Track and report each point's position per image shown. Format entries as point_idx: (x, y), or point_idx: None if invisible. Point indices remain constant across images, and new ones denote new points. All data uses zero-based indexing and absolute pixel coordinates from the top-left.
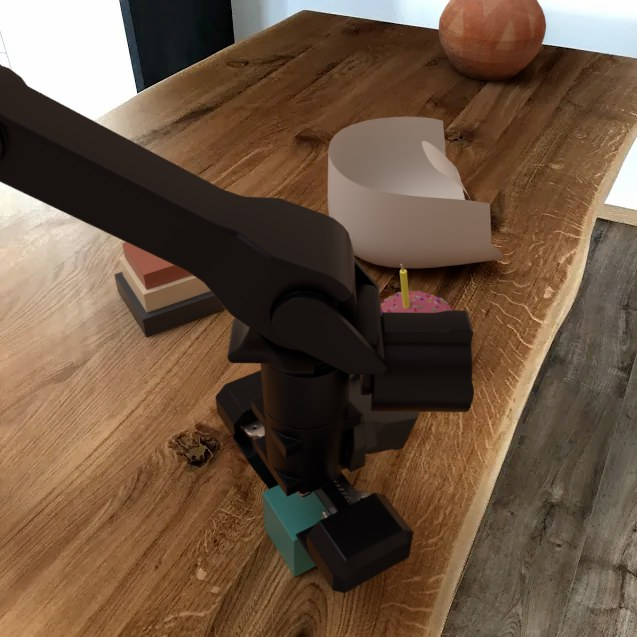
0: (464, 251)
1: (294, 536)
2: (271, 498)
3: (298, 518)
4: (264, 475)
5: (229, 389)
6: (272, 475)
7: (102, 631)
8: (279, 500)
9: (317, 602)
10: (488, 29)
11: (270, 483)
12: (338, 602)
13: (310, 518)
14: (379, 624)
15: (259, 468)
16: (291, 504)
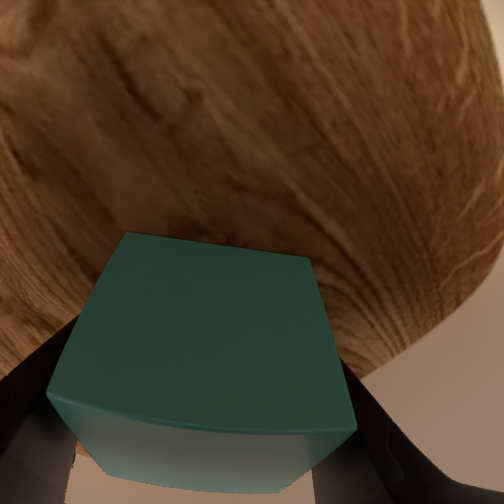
0: None
1: (270, 492)
2: (134, 479)
3: (233, 484)
4: (65, 474)
5: None
6: (61, 455)
7: None
8: (148, 478)
9: None
10: None
11: (73, 437)
12: (369, 337)
13: (257, 478)
14: (448, 308)
15: (58, 502)
16: (178, 479)
